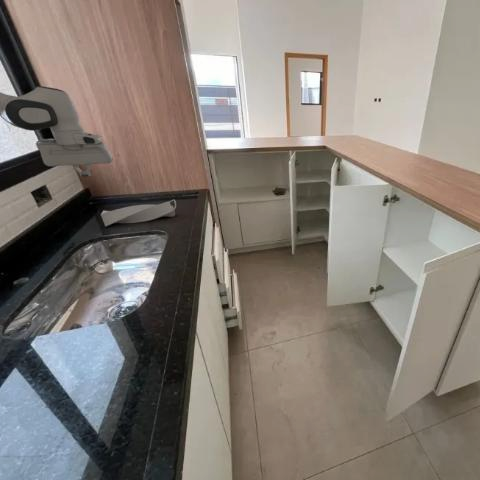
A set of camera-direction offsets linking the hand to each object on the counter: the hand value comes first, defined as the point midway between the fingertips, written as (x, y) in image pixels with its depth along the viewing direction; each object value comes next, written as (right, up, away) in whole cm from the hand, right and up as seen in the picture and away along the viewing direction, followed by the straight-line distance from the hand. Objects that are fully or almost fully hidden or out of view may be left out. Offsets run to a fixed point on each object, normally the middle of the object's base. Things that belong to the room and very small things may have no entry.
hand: (86, 176), depth 102 cm
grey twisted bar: (-1, -16, +9) cm, 18 cm away
